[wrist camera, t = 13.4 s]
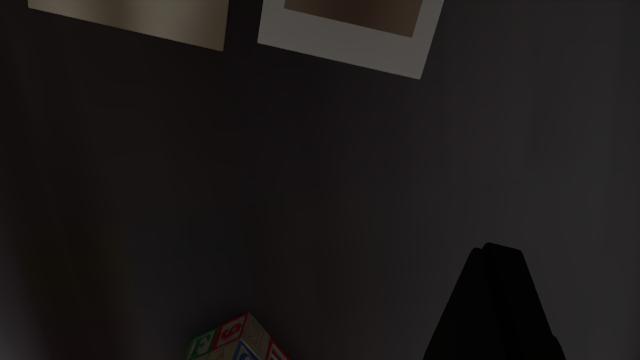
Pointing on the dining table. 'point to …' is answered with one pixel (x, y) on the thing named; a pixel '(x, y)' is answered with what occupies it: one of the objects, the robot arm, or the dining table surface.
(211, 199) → the dining table surface
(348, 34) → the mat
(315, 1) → the walnut block
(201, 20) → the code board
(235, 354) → the stack of blocks
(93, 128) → the dining table surface
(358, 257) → the dining table surface
